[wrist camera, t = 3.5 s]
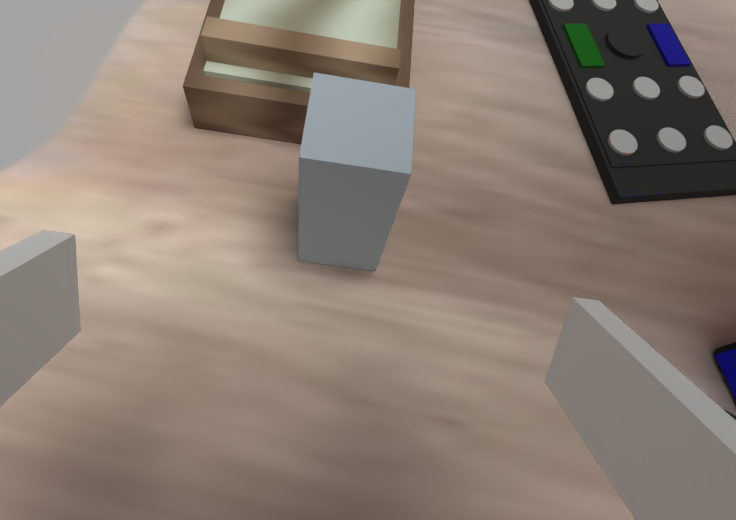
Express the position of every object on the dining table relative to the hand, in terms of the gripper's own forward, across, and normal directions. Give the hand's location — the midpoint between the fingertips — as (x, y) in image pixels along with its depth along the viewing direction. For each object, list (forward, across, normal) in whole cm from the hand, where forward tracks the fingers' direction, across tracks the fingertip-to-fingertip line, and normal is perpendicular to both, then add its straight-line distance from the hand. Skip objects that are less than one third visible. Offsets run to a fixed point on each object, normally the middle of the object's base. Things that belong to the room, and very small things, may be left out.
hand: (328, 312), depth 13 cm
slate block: (+16, 0, -3) cm, 17 cm away
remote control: (+31, +20, +12) cm, 39 cm away
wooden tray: (+25, -3, +7) cm, 26 cm away
